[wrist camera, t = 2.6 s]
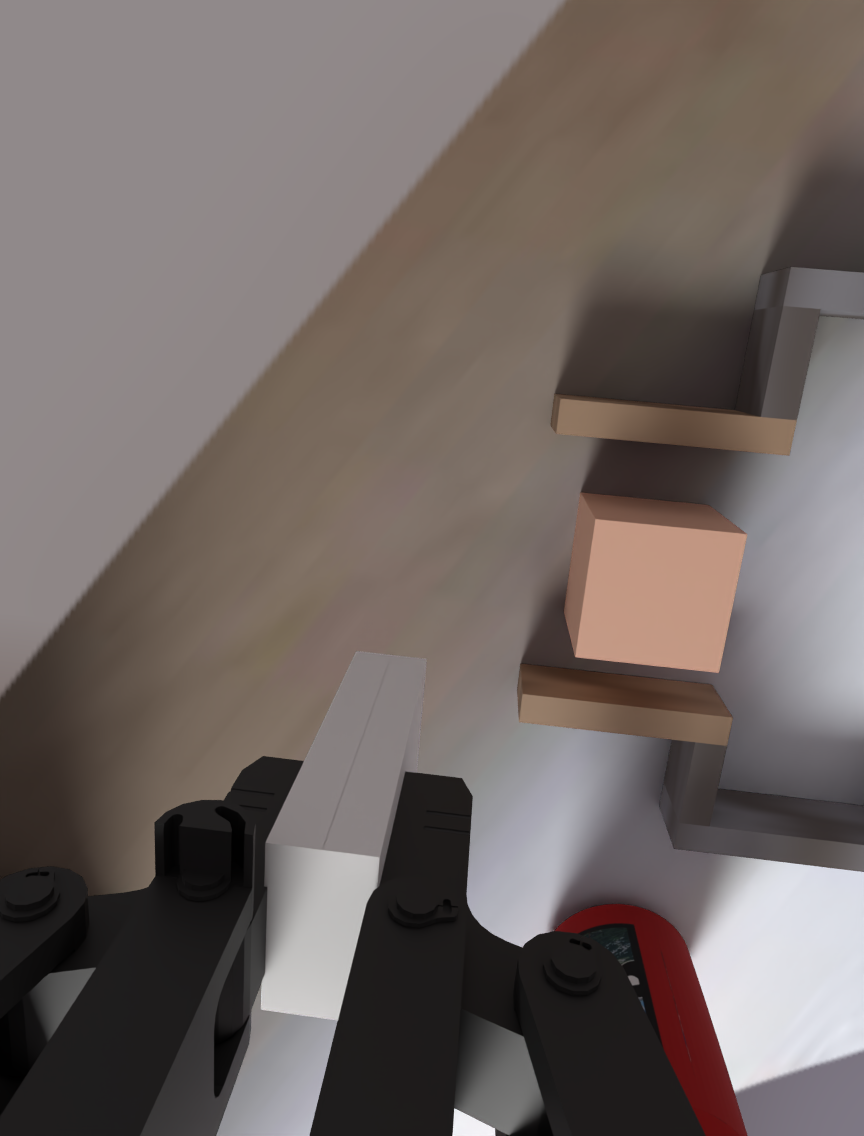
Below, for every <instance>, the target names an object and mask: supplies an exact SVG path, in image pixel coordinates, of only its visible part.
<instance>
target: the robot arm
mask: <svg viewBox="0 0 864 1136" xmlns="http://www.w3.org/2000/svg"><path fill="white" fill-rule="evenodd" d="M426 663H427V659H423V658H414V657H405V656H397V655H388V654H379V653H370V652H361V651H356V653H355V655H354V657H353V659H352V661H351V663H350V665H349V668H348V670H347V672H346V674H345V676H344V678H343V680H342V682H341V684H340V686H339V689H338V691H337V693H336V695H335V697H334V699H333V701H332V703H331V705H330V708H329V710H328V712H327V714H326V716H325V718H324V720H323V722H322V724H321V727H320V729H319V731H318V733H317V735H316V737H315V739H314V741H313V743H312V746H311V748H310V750H309V752H308V754H307V756H306V758H305V760H304V761H298V760H290V759H282V758H274V757H266V756H263V757H261V758H260V759H258V760H257V761H255V762H254V763H252V764H251V765H249V766H248V767H246V768H245V769H243V770H242V771H241V773H240V775H239V776H238V778H237V779H236V781H235V783H234V784H233V786H232V788H231V792H229V793H228V794H227V796H226V798H225V799H224V801H222V800H200V801H195V802H191V803H186V804H182V805H180V806H178V807H176V808H174V809H171V810H169V811H167V812H166V813H165V814H163V815H162V816H161V817H160V818H159V819H158V820H157V821H156V822H155V870H156V876H155V878H154V879H153V881H152V882H151V884H150V885H149V887H147V888H144V889H141V890H137V891H131V892H125V893H117V894H107V895H98V896H88V888H87V886H86V884H85V882H84V880H83V878H82V877H81V876H80V875H78V874H76V873H75V872H73V871H71V870H70V869H64V868H58V867H52V866H50V867H40V868H30V869H27V870H23V871H20V872H17V873H14V874H11V875H8V876H6V877H4V878H3V879H1V880H0V1136H216V1134H217V1132H218V1129H219V1126H220V1123H221V1120H222V1118H223V1115H224V1112H225V1109H226V1107H227V1104H228V1101H229V1098H230V1095H231V1093H232V1090H233V1087H234V1084H235V1081H236V1079H237V1076H238V1073H239V1070H240V1067H241V1065H242V1062H243V1059H244V1056H245V1053H246V1051H247V1048H248V1045H249V1040H250V1032H251V1009H252V1006H253V1004H254V1001H255V998H256V996H257V993H258V990H259V988H260V985H261V983H262V988H261V1010H268V1011H275V1012H282V1013H289V1014H296V1015H303V1016H310V1017H317V1018H324V1019H331V1020H338V1022H337V1026H336V1030H335V1034H334V1038H333V1042H332V1046H331V1051H330V1055H329V1059H328V1063H327V1067H326V1071H325V1075H324V1079H323V1083H322V1087H321V1091H320V1095H319V1099H318V1103H317V1107H316V1112H315V1116H314V1120H313V1124H312V1128H311V1132H310V1136H452V1133H453V1118H454V1108H455V1109H457V1110H459V1111H461V1112H463V1113H465V1114H467V1115H469V1116H471V1117H473V1118H475V1119H477V1120H479V1121H481V1122H483V1123H485V1124H487V1125H489V1126H491V1127H493V1128H495V1135H496V1136H706V1135H705V1133H704V1131H703V1129H702V1127H701V1125H700V1122H699V1120H698V1118H697V1116H696V1114H695V1112H694V1110H693V1108H692V1106H691V1104H690V1102H689V1100H688V1098H687V1096H686V1094H685V1092H684V1090H683V1088H682V1086H681V1084H680V1082H679V1080H678V1078H677V1076H676V1074H675V1072H674V1069H673V1067H672V1065H671V1063H670V1061H669V1059H668V1057H667V1055H666V1053H665V1051H664V1049H663V1047H662V1045H661V1043H660V1041H659V1039H658V1037H657V1035H656V1033H655V1031H654V1029H653V1027H652V1025H651V1023H650V1021H649V1019H648V1016H647V1014H646V1012H645V1010H644V1008H643V1006H642V1004H641V1002H640V1000H639V998H638V996H637V994H636V992H635V990H634V988H633V986H632V984H631V982H630V980H629V978H628V976H627V974H626V972H625V970H624V968H623V967H622V965H621V964H620V962H619V961H618V960H617V958H616V957H615V956H614V954H613V953H612V952H610V951H609V950H608V949H606V948H605V947H604V946H602V945H601V944H600V943H598V942H597V941H595V940H593V939H590V938H587V937H585V936H582V935H580V934H577V933H571V932H561V931H553V932H549V933H544V934H539V935H537V936H535V937H534V938H533V939H531V940H530V941H528V942H527V943H525V945H524V947H523V948H522V947H519V946H517V945H514V944H512V943H509V942H507V941H505V940H503V939H501V938H499V937H497V936H495V935H493V934H491V933H490V932H489V931H488V930H486V929H485V928H484V927H482V926H481V925H480V924H479V922H478V921H477V920H476V919H475V918H474V916H473V915H472V913H471V911H470V909H469V907H468V904H467V895H466V892H467V877H468V861H469V845H470V830H471V814H472V799H473V796H472V794H471V793H470V791H469V789H468V788H467V786H466V784H465V783H464V781H463V779H462V778H456V777H447V776H439V775H431V774H423V773H417V764H418V753H419V742H420V730H421V719H422V708H423V697H424V686H425V674H426Z"/></svg>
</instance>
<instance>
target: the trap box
mask: <svg viewBox="0 0 864 1136" xmlns="http://www.w3.org/2000/svg"><path fill="white" fill-rule="evenodd" d="M819 316H831V317H843V318H855V319H864V273H861V272H848V271H836V270H823V269H811V268H799V267H789V268H785V269H781V270H778V271H774V272H770V273H767V274H763V275H761V277H760V282H759V288H758V293H757V298H756V303H755V308H754V314H753V319H752V324H751V329H750V335H749V340H748V345H747V350H746V355H745V361H744V366H743V371H742V376H741V381H740V387H739V392H738V397H737V402H736V408H735V410H728V409H717V408H707V407H696V406H685V405H674V404H663V403H652V402H641V401H630V400H619V399H608V398H597V397H586V396H575V395H564V394H554V402H553V410H552V418H551V427H552V428H553V430H554V431H555V433H556V434H565V435H576V436H586V437H597V438H608V439H618V440H629V441H639V442H650V443H661V444H671V445H682V446H693V447H703V448H714V449H725V450H735V451H746V452H756V453H767V454H778V455H788V456H789V454H790V450H791V445H792V440H793V436H794V431H795V426H796V422H797V417H798V412H799V408H800V403H801V398H802V394H803V389H804V384H805V380H806V375H807V370H808V366H809V361H810V356H811V352H812V347H813V342H814V338H815V333H816V328H817V324H818V319H819ZM517 694H518V712H519V722H523V723H532V724H540V725H549V726H558V727H567V728H575V729H584V730H593V731H601V732H610V733H619V734H628V735H636V736H645V737H654V738H663V739H671V740H672V742H671V747H670V752H669V757H668V762H667V768H666V773H665V778H664V783H663V788H662V794H661V799H660V804H659V807H660V810H661V813H662V816H663V819H664V822H665V825H666V827H667V830H668V833H669V836H670V839H671V842H672V845H673V847H674V849H681V850H689V851H697V852H705V853H714V854H722V855H730V856H738V857H746V858H754V859H763V860H771V861H779V862H787V863H795V864H803V865H812V866H820V867H828V868H836V869H844V870H853V871H861V872H864V806H861V805H852V804H844V803H835V802H827V801H818V800H810V799H801V798H793V797H784V796H776V795H767V794H759V793H750V792H742V791H733V790H725V789H718V785H719V781H720V776H721V771H722V767H723V762H724V757H725V753H726V748H727V743H728V739H729V734H730V729H731V725H732V720H733V717H732V715H731V714H730V712H729V711H728V709H727V708H726V706H725V704H724V703H723V701H722V700H721V698H720V696H719V695H718V693H717V692H716V690H715V689H714V687H713V685H710V684H701V683H692V682H683V681H674V680H665V679H656V678H647V677H638V676H629V675H620V674H611V673H602V672H593V671H584V670H574V669H565V668H556V667H547V666H538V665H529V664H520V671H519V679H518V687H517Z"/></svg>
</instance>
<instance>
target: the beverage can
mask: <svg viewBox="0 0 864 1136" xmlns="http://www.w3.org/2000/svg"><path fill="white" fill-rule="evenodd" d="M555 931H561V932H571V933H577V934H580V935H582V936H585V937H587V938H590V939H593V940H595V941H597V942H598V943H600V944H601V945H602V946H604V947H605V948H606V949H608V950H609V951H610V952H612V953H613V954H614V956H615V957H616V958H617V960H618V961H619V962H620V964H621V965H622V967H623V968H624V970H625V972H626V974H627V976H628V978H629V980H630V982H631V984H632V986H633V988H634V990H635V992H636V994H637V996H638V998H639V1000H640V1002H641V1004H642V1006H643V1008H644V1010H645V1012H646V1014H647V1016H648V1019H649V1021H650V1023H651V1025H652V1027H653V1029H654V1031H655V1033H656V1035H657V1037H658V1039H659V1041H660V1043H661V1045H662V1047H663V1049H664V1051H665V1053H666V1055H667V1057H668V1059H669V1061H670V1063H671V1065H672V1067H673V1069H674V1072H675V1074H676V1076H677V1078H678V1080H679V1082H680V1084H681V1086H682V1088H683V1090H684V1092H685V1094H686V1096H687V1098H688V1100H689V1102H690V1104H691V1106H692V1108H693V1110H694V1112H695V1114H696V1116H697V1118H698V1120H699V1122H700V1125H701V1127H702V1129H703V1131H704V1133H705V1135H706V1136H747V1132H746V1129H745V1126H744V1122H743V1119H742V1116H741V1113H740V1109H739V1106H738V1103H737V1100H736V1096H735V1093H734V1090H733V1087H732V1084H731V1080H730V1077H729V1074H728V1071H727V1068H726V1064H725V1061H724V1058H723V1055H722V1052H721V1049H720V1045H719V1042H718V1039H717V1036H716V1033H715V1030H714V1027H713V1024H712V1021H711V1017H710V1014H709V1011H708V1008H707V1005H706V1002H705V999H704V996H703V993H702V990H701V987H700V984H699V981H698V978H697V975H696V972H695V969H694V966H693V963H692V960H691V957H690V954H689V951H688V948H687V945H686V943H685V941H684V940H683V938H682V936H681V935H680V934H679V932H678V931H677V930H676V929H675V928H674V927H673V926H672V925H671V924H670V923H669V922H668V921H667V920H665V919H664V918H662V917H661V916H659V915H657V914H656V913H653V912H651V911H649V910H646V909H644V908H640V907H637V906H632V905H625V904H606V905H599V906H595V907H591V908H588V909H585V910H583V911H580V912H578V913H576V914H574V915H573V916H571V917H569V918H568V919H567V920H565V921H564V922H563V923H562V924H561V925H560V926H559V927H558V928H557V929H556V930H555Z"/></svg>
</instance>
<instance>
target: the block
mask: <svg viewBox="0 0 864 1136" xmlns="http://www.w3.org/2000/svg"><path fill="white" fill-rule="evenodd" d="M746 538H747V534H746V533H745V532H744V531H742V530H741V529H740V528H738V527H737V526H736V525H734V524H733V523H732V522H730V521H729V520H728V519H726V518H725V517H724V516H722V515H721V514H720V513H719V512H717V511H716V510H715V509H713V508H712V507H711V506H709V505H704V504H694V503H683V502H673V501H663V500H653V499H642V498H632V497H622V496H612V495H601V494H591V493H581V492H580V499H579V506H578V513H577V521H576V528H575V535H574V542H573V549H572V556H571V563H570V570H569V578H568V585H567V592H566V599H565V606H564V614H565V618H566V622H567V626H568V630H569V634H570V638H571V642H572V646H573V650H574V654H575V657H578V658H587V659H596V660H605V661H614V662H624V663H633V664H642V665H651V666H660V667H669V668H678V669H688V670H697V671H706V672H715V673H719V670H720V665H721V660H722V655H723V650H724V645H725V641H726V636H727V631H728V626H729V621H730V616H731V611H732V606H733V602H734V597H735V592H736V587H737V582H738V577H739V572H740V567H741V563H742V558H743V553H744V548H745V543H746Z"/></svg>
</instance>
